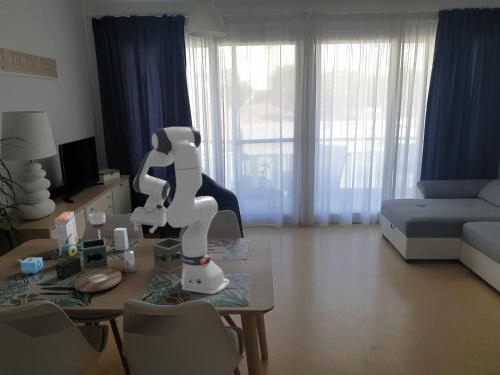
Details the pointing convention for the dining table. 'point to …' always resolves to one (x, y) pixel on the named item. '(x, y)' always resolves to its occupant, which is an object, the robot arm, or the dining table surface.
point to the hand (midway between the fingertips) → (143, 231)
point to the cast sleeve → (129, 261)
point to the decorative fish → (70, 249)
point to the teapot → (31, 265)
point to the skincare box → (121, 239)
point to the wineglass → (97, 220)
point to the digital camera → (68, 268)
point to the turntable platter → (97, 280)
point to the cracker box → (66, 229)
